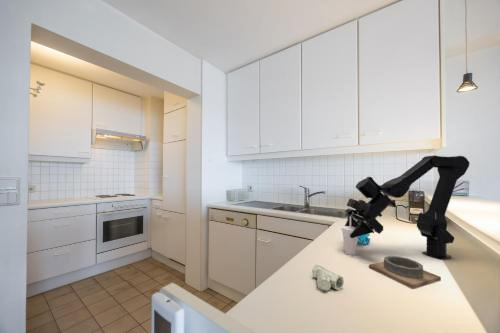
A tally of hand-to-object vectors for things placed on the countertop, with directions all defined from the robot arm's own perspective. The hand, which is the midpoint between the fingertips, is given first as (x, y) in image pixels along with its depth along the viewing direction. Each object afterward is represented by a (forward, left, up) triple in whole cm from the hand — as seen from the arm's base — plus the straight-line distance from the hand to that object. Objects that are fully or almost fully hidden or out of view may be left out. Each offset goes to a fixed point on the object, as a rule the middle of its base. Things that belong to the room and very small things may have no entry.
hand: (346, 234), depth 80 cm
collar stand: (-3, +19, -7) cm, 20 cm away
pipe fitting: (+25, +15, -8) cm, 30 cm away
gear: (-15, -7, -7) cm, 18 cm away
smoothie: (-1, +1, -7) cm, 7 cm away
